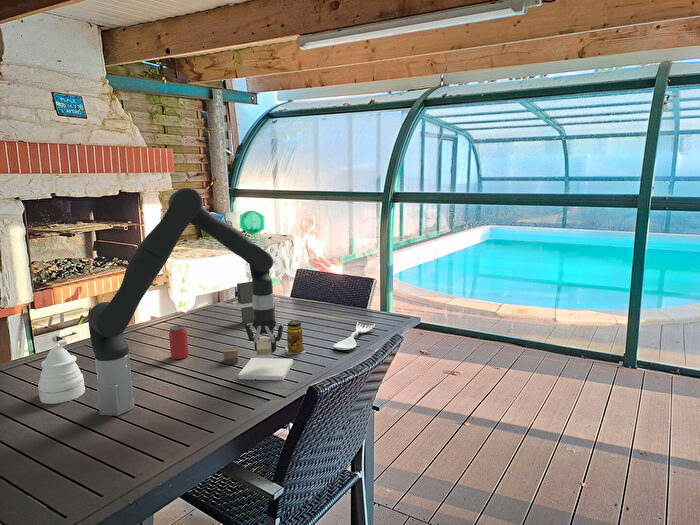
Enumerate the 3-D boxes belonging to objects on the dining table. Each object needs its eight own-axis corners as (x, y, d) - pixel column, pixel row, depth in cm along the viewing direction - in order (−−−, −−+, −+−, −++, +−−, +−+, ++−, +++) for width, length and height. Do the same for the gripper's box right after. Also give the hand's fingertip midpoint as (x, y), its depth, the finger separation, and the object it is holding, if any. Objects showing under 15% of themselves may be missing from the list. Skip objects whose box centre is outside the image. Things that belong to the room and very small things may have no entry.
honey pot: (75, 383, 170) (69, 333, 167) (91, 393, 162) (85, 341, 159) (33, 396, 161) (26, 343, 157) (49, 407, 153) (41, 352, 149)
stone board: (283, 380, 170) (282, 376, 169) (238, 379, 171) (237, 374, 171) (293, 362, 185) (293, 358, 185) (251, 361, 187) (251, 357, 187)
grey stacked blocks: (281, 309, 260) (279, 272, 256) (304, 320, 239) (303, 280, 236) (209, 322, 238) (207, 282, 235) (229, 336, 218) (226, 293, 214)
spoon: (376, 330, 222) (376, 323, 222) (350, 355, 193) (350, 346, 192) (357, 328, 225) (357, 321, 225) (329, 352, 196) (329, 344, 196)
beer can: (183, 360, 189) (180, 330, 187) (167, 359, 191) (165, 329, 188) (191, 354, 196) (189, 325, 194) (176, 353, 197) (174, 324, 195)
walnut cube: (237, 363, 186) (237, 350, 185) (224, 364, 185) (223, 351, 184) (238, 358, 191) (238, 346, 190) (225, 359, 190) (224, 347, 189)
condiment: (288, 355, 193) (287, 325, 191) (284, 347, 201) (283, 319, 199) (306, 352, 195) (305, 323, 193) (302, 345, 203) (301, 317, 201)
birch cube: (270, 355, 175) (270, 341, 174) (257, 355, 175) (256, 341, 174) (274, 350, 179) (273, 337, 179) (261, 349, 180) (260, 336, 179)
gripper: (240, 308, 171) (243, 355, 174) (280, 309, 170) (282, 355, 173) (247, 303, 178) (249, 347, 182) (285, 303, 177) (287, 348, 180)
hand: (265, 351), depth 177 cm, fingers closed on birch cube, 5 cm apart
